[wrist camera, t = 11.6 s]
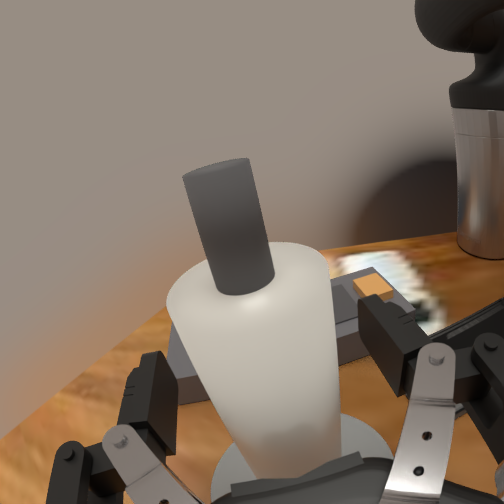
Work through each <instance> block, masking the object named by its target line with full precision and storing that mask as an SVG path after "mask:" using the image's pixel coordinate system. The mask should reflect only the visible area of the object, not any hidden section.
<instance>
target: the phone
mask: <svg viewBox="0 0 504 504" xmlns="http://www.w3.org/2000/svg"><path fill="white" fill-rule="evenodd" d="M483 333H495V334H497V335H499V336H501V337H502V338H503V339H504V297H503V298H500V299H499V300H497V301H495V302H494V303H492V304H490V305H488V306H486V307H485V308H483V309H481V310H479V311H477V312H475V313H474V314H472V315H470V316H468V317H466V318H464V319H462V320H460V321H458V322H456V323H454V324H452V325H450V326H448V327H446V328H444V329H442V330H440V331H437V332H435V333H433V334H431V335H429V336H428V337H429V338H430V339H431V340H432V341H433V342H434V343H443V344H446V345H448V346H449V347H451V348H452V349H453V350H458V349H463V348H468V347H472V346H473V344H474V341H475V339H476V338H477V337H478V336H479V335H481V334H483ZM405 395H406V397H407V398H408V400H409V397H408V395H407V394H405ZM465 413H467V411H466V410H465V408H464V407H463V405H462V404H461V403H459V404H456V409H455V418H454V420H455V419H457V418H458V417H460V416H462V415H463V414H465Z"/></svg>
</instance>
